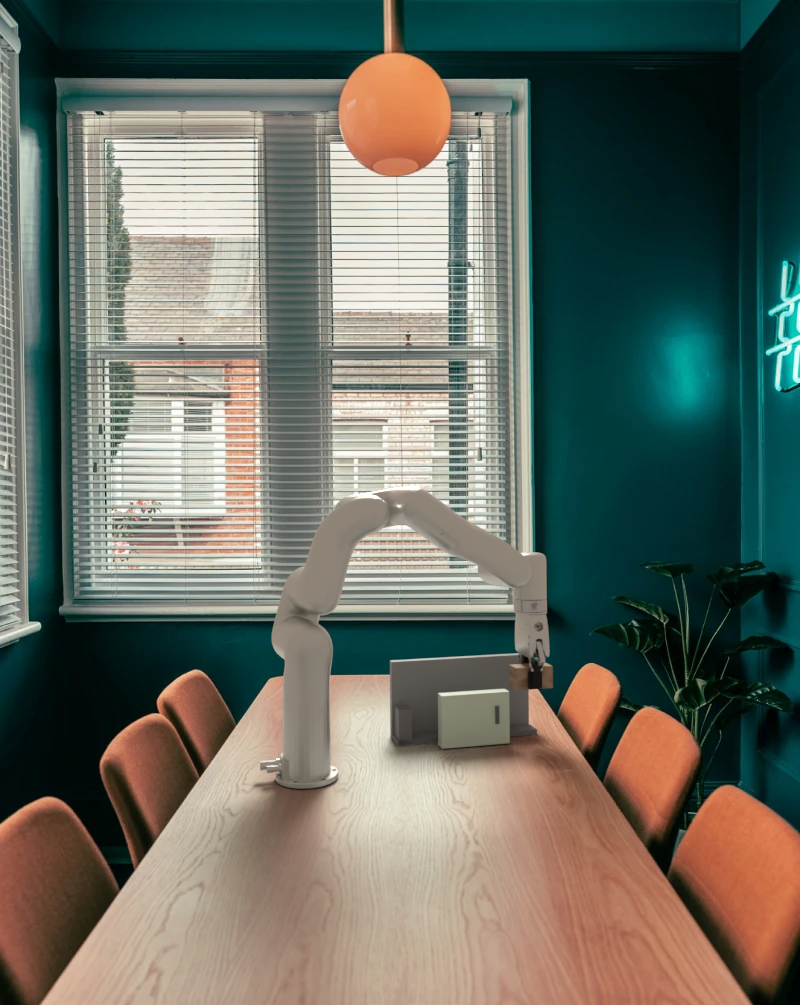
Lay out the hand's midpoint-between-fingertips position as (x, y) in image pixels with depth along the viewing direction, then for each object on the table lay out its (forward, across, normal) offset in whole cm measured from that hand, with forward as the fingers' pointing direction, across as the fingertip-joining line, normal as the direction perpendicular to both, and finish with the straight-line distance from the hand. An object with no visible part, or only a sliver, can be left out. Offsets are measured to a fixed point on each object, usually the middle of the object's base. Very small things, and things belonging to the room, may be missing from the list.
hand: (530, 685), depth 177 cm
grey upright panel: (+13, +9, +13) cm, 21 cm away
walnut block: (0, 0, 0) cm, 0 cm away
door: (+13, +1, +14) cm, 19 cm away
